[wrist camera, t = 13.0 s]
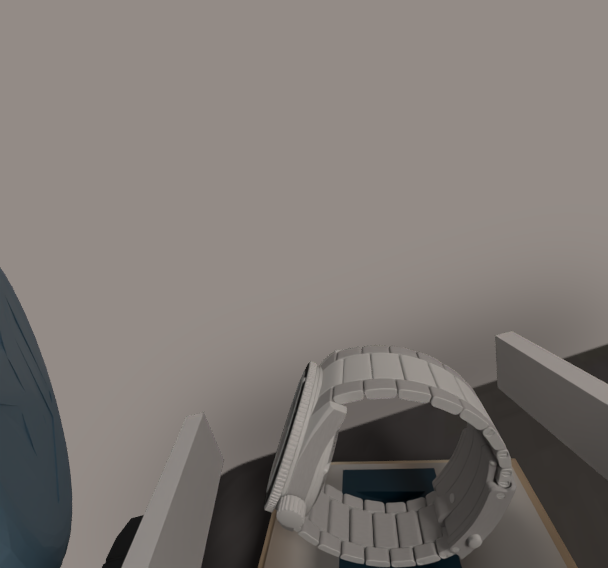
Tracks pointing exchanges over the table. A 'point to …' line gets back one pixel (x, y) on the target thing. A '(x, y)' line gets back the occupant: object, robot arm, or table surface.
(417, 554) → the watch
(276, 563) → the plate
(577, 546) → the table surface
